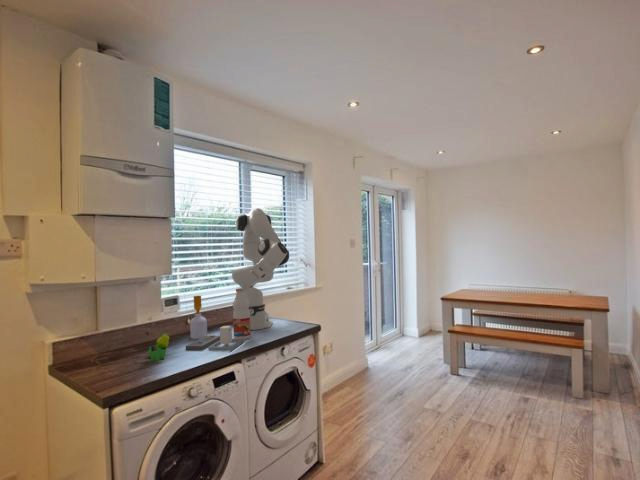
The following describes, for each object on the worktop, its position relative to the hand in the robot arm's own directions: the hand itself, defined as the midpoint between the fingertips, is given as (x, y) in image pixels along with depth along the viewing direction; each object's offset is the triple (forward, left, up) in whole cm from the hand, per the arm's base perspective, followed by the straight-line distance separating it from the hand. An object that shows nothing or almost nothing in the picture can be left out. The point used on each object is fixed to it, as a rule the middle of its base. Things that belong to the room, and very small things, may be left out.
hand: (246, 288), depth 191 cm
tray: (+6, -10, -29) cm, 31 cm away
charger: (+5, -10, -29) cm, 31 cm away
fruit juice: (-11, -8, -29) cm, 33 cm away
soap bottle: (-12, -35, -29) cm, 48 cm away
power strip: (+4, -23, -29) cm, 38 cm away
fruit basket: (+24, -35, -29) cm, 52 cm away
